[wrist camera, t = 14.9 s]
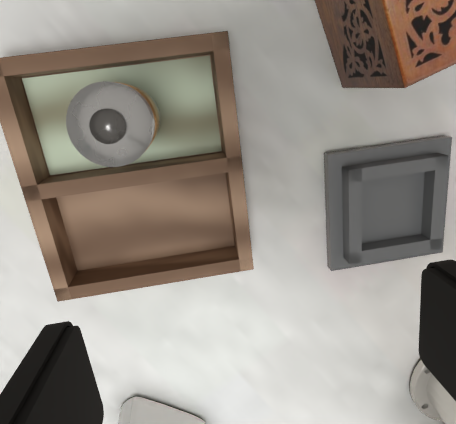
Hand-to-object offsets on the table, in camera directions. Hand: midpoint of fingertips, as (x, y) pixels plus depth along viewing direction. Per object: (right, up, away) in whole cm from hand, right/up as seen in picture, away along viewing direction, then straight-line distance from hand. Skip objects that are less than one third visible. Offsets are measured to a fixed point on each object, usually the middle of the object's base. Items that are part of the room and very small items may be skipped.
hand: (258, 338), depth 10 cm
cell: (-9, +11, +21) cm, 25 cm away
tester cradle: (+15, +4, +27) cm, 31 cm away
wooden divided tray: (-9, +7, +23) cm, 26 cm away
